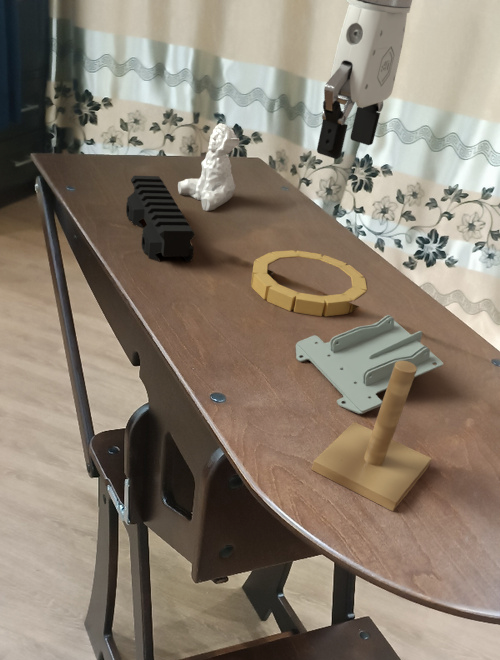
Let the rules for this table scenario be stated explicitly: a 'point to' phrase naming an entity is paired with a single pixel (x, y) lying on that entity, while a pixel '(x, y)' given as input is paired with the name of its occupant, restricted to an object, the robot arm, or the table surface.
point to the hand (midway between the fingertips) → (345, 148)
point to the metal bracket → (366, 360)
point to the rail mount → (159, 219)
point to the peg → (377, 450)
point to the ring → (303, 301)
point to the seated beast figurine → (214, 171)
